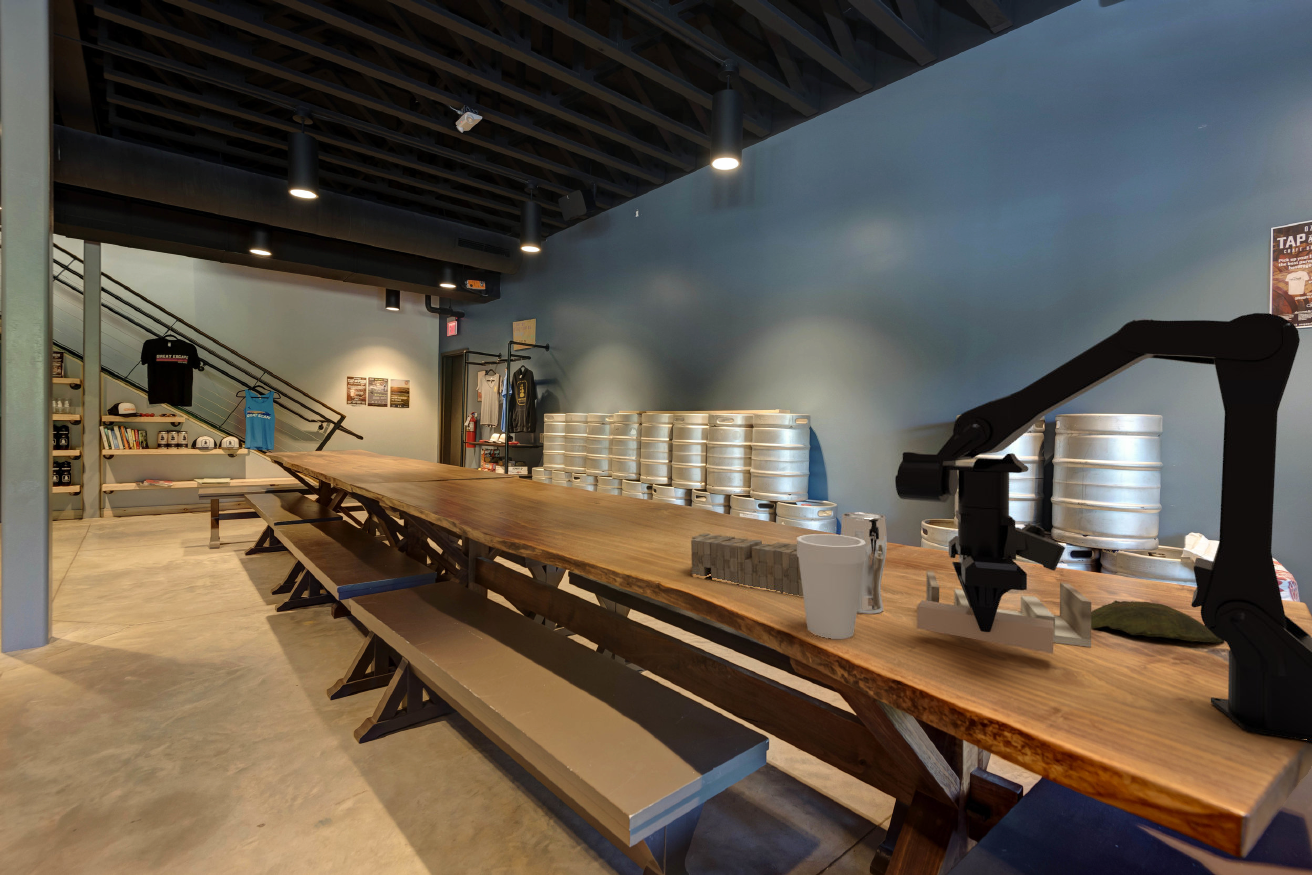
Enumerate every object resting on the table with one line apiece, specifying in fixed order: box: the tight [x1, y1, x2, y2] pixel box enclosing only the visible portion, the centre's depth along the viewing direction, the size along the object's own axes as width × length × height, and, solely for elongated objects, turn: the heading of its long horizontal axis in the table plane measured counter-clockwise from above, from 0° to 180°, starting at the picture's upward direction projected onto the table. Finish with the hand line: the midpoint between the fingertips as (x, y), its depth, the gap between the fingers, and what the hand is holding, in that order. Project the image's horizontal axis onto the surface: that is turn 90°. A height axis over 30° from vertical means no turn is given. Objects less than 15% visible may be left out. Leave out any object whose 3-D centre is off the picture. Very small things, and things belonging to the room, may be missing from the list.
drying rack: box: [925, 570, 1092, 648], centre depth 82 cm, size 10×19×6 cm, turn 68°
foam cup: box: [796, 533, 866, 640], centre depth 79 cm, size 10×9×13 cm
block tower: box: [690, 533, 803, 597], centre depth 105 cm, size 8×8×29 cm
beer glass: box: [840, 512, 888, 615], centre depth 90 cm, size 7×7×15 cm
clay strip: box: [916, 599, 1054, 654], centre depth 72 cm, size 15×4×3 cm, turn 55°
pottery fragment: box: [1091, 600, 1226, 644], centre depth 80 cm, size 13×14×4 cm
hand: (982, 625), depth 72 cm, fingers closed on clay strip, 4 cm apart
